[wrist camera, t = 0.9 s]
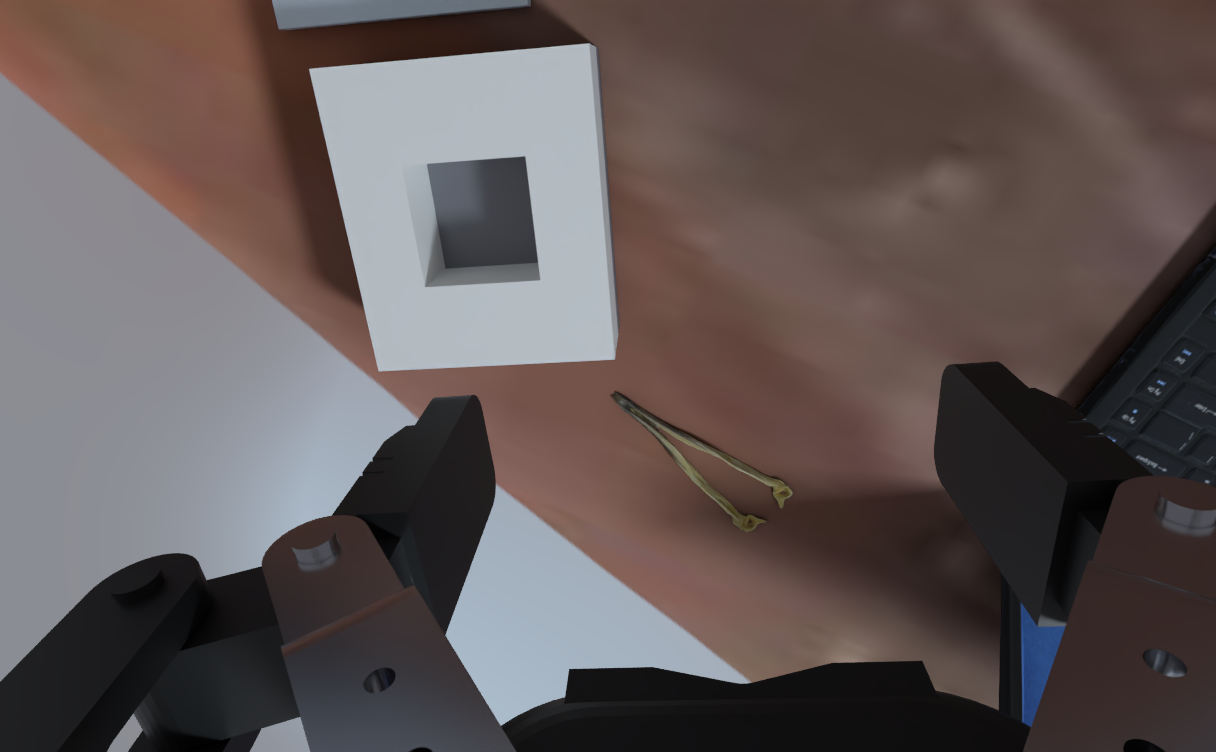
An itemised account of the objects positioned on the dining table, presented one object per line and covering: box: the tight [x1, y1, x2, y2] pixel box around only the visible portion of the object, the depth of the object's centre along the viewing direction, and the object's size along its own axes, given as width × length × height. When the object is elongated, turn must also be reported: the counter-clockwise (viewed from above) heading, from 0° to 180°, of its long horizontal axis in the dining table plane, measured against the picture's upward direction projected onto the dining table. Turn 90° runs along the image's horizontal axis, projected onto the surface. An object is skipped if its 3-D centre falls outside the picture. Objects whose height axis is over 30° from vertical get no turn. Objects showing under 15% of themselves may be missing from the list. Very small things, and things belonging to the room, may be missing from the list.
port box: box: [309, 43, 620, 371], centre depth 34 cm, size 14×12×5 cm
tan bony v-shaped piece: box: [612, 392, 793, 532], centre depth 41 cm, size 4×13×2 cm, turn 56°
